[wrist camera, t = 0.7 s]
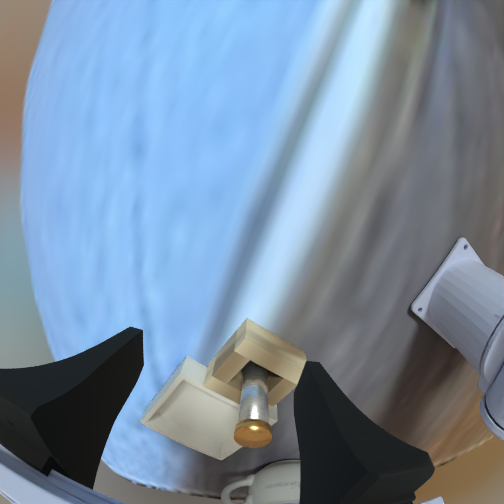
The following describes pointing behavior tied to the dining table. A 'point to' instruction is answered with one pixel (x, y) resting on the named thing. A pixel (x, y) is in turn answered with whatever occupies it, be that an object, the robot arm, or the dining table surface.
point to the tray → (196, 412)
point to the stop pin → (253, 408)
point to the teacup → (270, 485)
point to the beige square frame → (261, 352)
